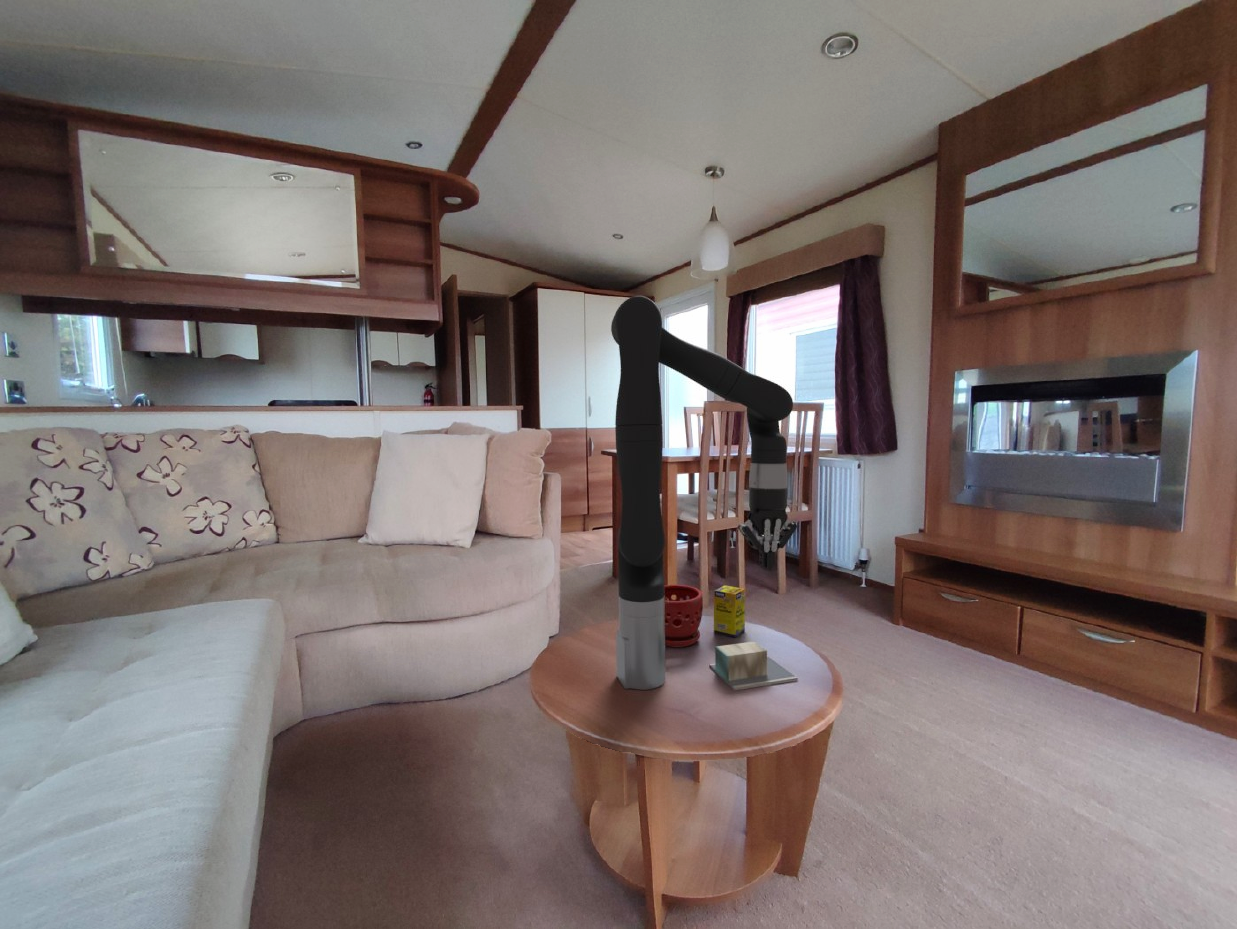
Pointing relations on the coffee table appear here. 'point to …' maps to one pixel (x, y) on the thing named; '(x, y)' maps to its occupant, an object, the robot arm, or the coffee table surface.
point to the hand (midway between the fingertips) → (767, 569)
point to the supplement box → (729, 611)
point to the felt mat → (762, 677)
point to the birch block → (740, 661)
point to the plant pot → (682, 615)
